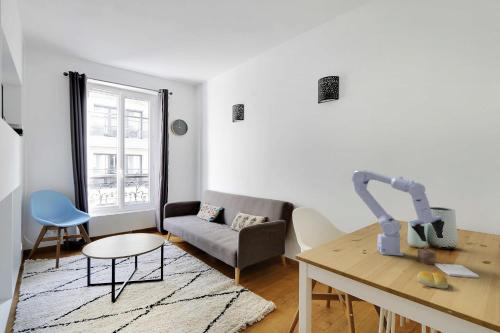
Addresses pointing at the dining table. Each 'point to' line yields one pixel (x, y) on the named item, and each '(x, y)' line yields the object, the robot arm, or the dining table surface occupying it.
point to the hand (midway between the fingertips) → (432, 239)
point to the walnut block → (426, 256)
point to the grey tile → (456, 270)
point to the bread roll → (433, 279)
